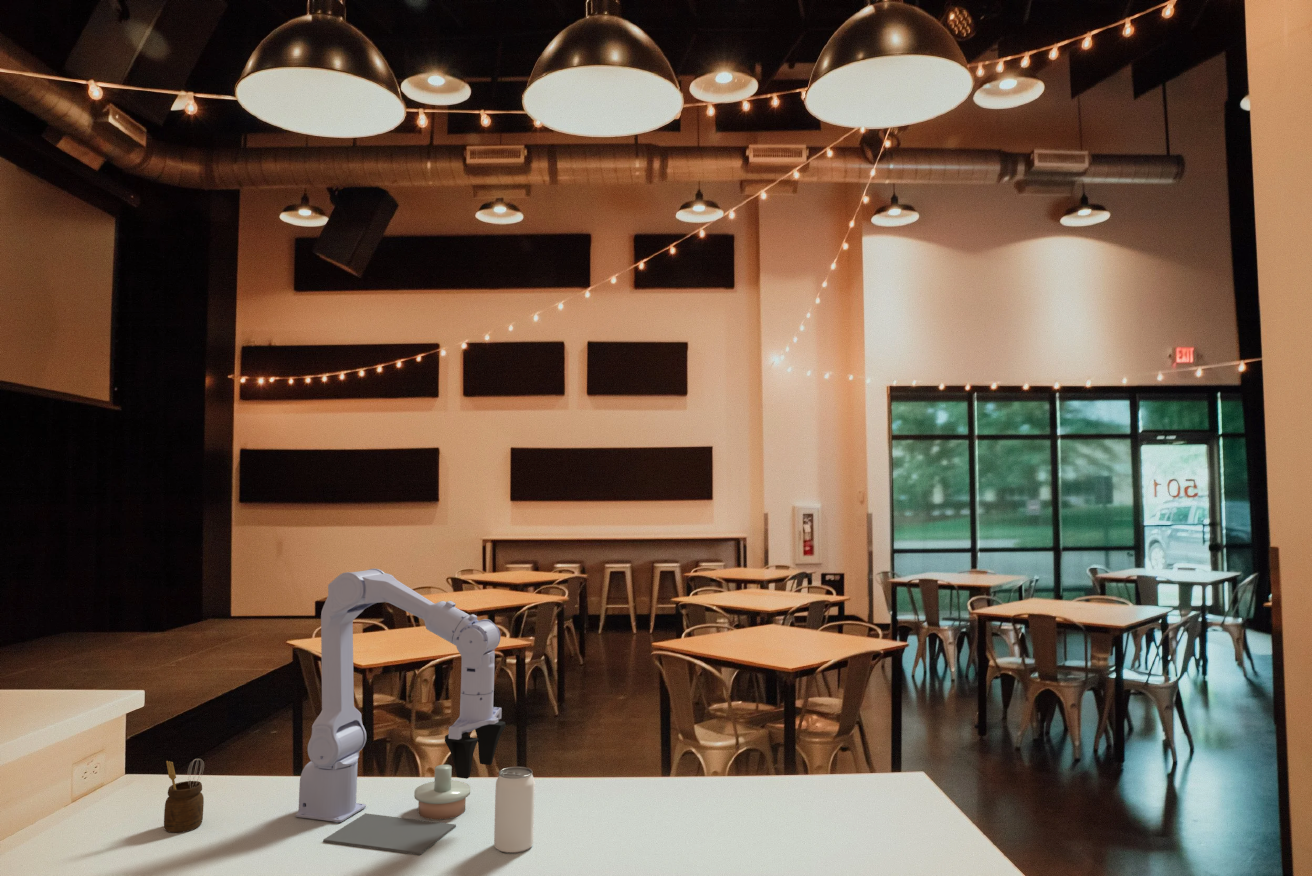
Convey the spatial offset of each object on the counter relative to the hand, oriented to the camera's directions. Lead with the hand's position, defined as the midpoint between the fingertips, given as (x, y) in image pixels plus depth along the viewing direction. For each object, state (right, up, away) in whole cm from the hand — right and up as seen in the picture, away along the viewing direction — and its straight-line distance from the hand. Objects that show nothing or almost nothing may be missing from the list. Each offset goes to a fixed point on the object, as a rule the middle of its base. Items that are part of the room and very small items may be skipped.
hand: (474, 770), depth 146 cm
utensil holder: (-50, -9, -1) cm, 51 cm away
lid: (-8, -7, +8) cm, 13 cm away
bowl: (-8, -10, +8) cm, 15 cm away
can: (+8, -10, -7) cm, 15 cm away
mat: (-14, -10, -3) cm, 17 cm away
